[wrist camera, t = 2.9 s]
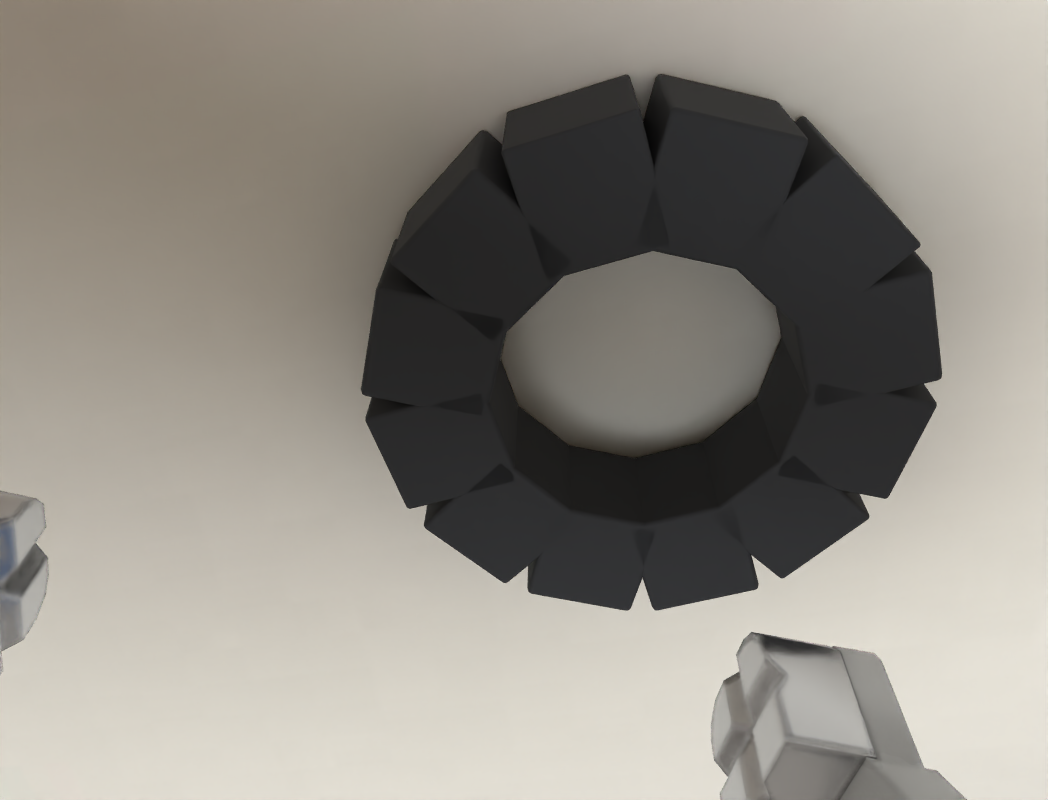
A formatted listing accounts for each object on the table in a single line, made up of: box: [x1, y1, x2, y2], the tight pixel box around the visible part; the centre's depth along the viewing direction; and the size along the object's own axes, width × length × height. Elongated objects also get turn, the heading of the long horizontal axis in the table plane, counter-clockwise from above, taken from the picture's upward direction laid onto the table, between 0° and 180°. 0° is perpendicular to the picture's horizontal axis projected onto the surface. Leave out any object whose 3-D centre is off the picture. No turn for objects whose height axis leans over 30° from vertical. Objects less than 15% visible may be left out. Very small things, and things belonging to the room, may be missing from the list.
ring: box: [361, 74, 942, 610], centre depth 17 cm, size 10×10×2 cm
